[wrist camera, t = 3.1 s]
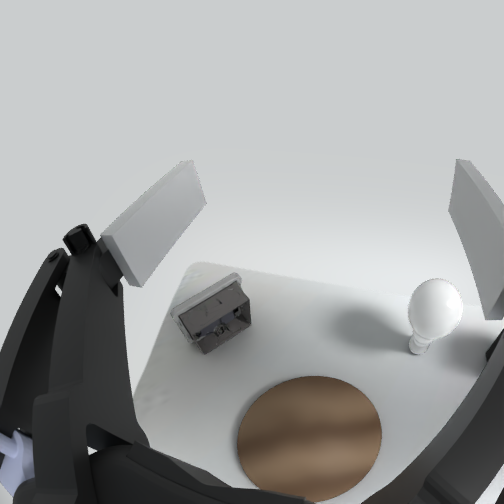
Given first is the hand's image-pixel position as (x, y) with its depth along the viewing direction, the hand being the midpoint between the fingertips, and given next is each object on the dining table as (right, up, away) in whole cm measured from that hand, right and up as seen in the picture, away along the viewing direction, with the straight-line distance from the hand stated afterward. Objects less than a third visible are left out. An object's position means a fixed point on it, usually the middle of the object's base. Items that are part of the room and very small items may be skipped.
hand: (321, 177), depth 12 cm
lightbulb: (+17, -16, +16) cm, 28 cm away
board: (+3, -23, +11) cm, 26 cm away
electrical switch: (-7, -15, +25) cm, 30 cm away
